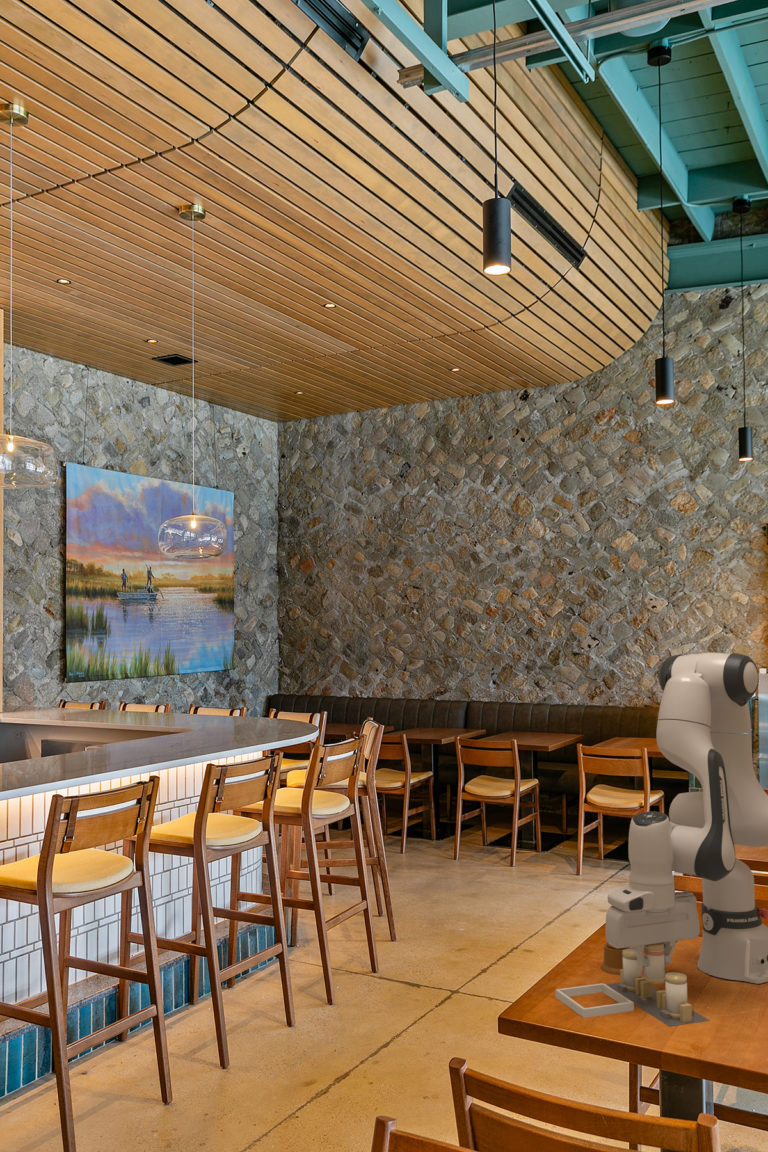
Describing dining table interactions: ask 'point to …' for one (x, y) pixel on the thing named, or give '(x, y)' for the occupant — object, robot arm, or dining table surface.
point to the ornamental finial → (612, 959)
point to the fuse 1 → (630, 969)
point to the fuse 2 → (675, 993)
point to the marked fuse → (655, 963)
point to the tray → (622, 1006)
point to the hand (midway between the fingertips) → (654, 964)
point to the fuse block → (656, 1002)
